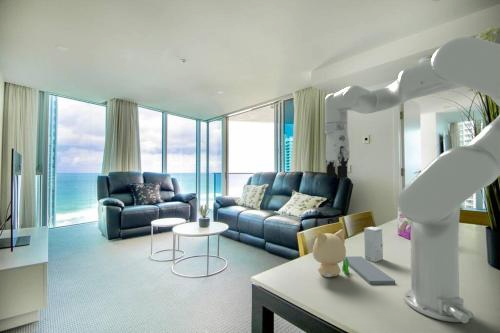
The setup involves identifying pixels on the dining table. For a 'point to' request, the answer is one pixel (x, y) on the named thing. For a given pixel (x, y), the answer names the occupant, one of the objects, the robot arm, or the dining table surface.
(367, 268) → the mat
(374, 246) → the skincare box
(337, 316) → the dining table surface
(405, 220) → the candy bar box
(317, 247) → the kitten
